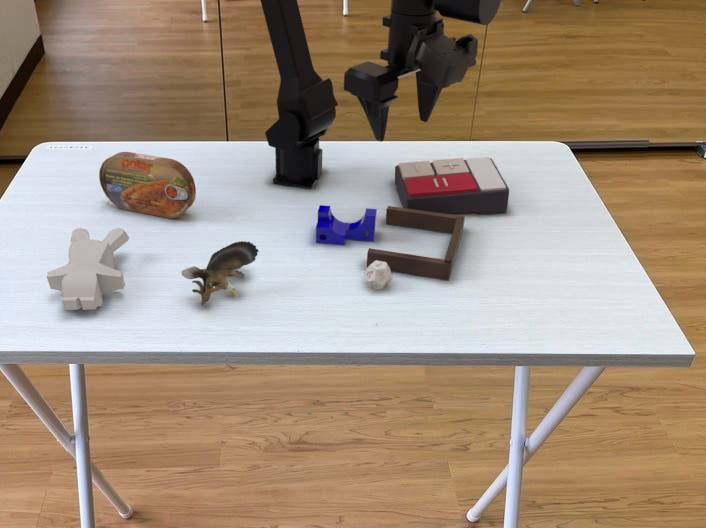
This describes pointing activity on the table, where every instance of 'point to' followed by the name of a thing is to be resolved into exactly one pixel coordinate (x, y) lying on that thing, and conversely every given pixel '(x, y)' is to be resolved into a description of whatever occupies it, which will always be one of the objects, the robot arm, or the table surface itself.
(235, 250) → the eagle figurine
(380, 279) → the game die
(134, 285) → the table surface
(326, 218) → the cable holder
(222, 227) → the table surface
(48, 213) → the table surface
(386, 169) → the table surface
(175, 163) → the tin
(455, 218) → the square wooden border
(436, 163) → the calculator
